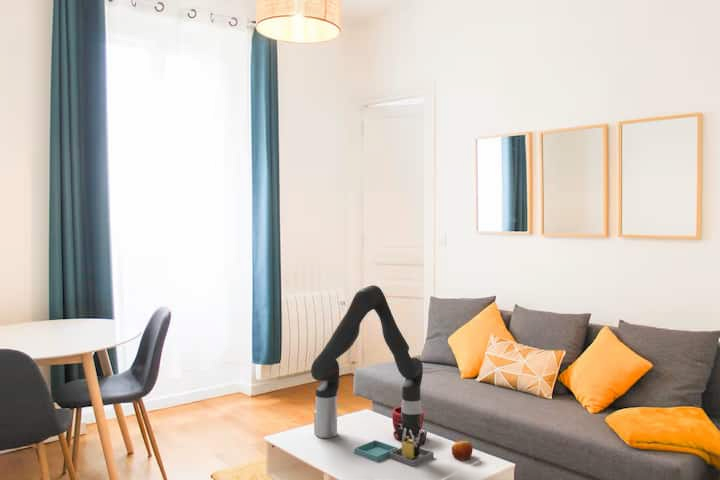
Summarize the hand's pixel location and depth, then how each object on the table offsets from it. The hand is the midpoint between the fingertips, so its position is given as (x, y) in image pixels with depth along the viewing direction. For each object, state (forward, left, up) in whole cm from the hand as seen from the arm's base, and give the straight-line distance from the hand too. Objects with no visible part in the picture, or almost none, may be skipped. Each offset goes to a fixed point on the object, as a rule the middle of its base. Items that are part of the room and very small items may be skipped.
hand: (411, 453), depth 234 cm
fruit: (+14, +14, -2) cm, 20 cm away
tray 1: (-13, -6, -2) cm, 14 cm away
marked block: (0, 0, -1) cm, 1 cm away
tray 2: (0, 0, -2) cm, 2 cm away
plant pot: (-15, +16, -2) cm, 22 cm away
